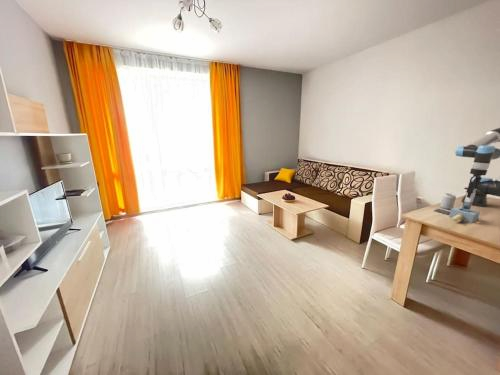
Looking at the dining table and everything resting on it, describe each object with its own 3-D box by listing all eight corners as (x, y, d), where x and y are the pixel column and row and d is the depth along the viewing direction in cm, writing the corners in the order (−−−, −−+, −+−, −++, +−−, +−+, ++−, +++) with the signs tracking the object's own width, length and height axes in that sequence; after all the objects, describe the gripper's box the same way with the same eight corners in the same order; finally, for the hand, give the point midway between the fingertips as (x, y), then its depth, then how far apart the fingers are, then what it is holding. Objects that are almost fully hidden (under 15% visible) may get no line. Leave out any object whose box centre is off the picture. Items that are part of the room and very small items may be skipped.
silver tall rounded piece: (459, 206, 150) (465, 186, 146) (473, 209, 144) (481, 189, 139) (457, 206, 148) (463, 187, 144) (471, 210, 142) (479, 190, 137)
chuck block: (455, 213, 156) (457, 206, 154) (477, 219, 146) (480, 211, 144) (443, 219, 145) (445, 211, 144) (466, 226, 135) (468, 218, 133)
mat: (438, 209, 163) (438, 208, 163) (451, 212, 157) (451, 212, 157) (433, 211, 160) (433, 210, 160) (446, 214, 153) (447, 214, 153)
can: (448, 207, 168) (453, 193, 165) (454, 210, 161) (459, 196, 158) (437, 206, 171) (441, 192, 167) (443, 209, 164) (447, 195, 160)
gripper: (475, 166, 144) (465, 197, 151) (467, 168, 136) (456, 201, 143) (491, 168, 138) (480, 200, 145) (483, 170, 130) (471, 204, 137)
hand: (468, 201), depth 144 cm, fingers closed on silver tall rounded piece, 4 cm apart
